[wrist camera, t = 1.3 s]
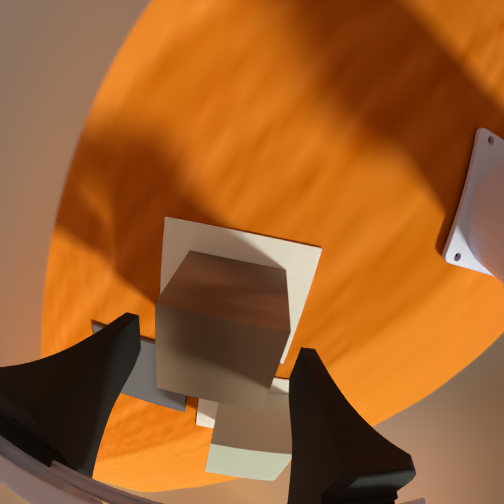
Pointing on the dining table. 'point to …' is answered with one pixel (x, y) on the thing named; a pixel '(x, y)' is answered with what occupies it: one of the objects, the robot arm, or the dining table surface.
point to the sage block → (251, 439)
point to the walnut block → (221, 329)
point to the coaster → (148, 378)
